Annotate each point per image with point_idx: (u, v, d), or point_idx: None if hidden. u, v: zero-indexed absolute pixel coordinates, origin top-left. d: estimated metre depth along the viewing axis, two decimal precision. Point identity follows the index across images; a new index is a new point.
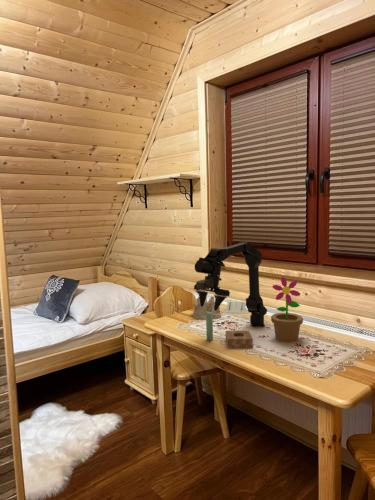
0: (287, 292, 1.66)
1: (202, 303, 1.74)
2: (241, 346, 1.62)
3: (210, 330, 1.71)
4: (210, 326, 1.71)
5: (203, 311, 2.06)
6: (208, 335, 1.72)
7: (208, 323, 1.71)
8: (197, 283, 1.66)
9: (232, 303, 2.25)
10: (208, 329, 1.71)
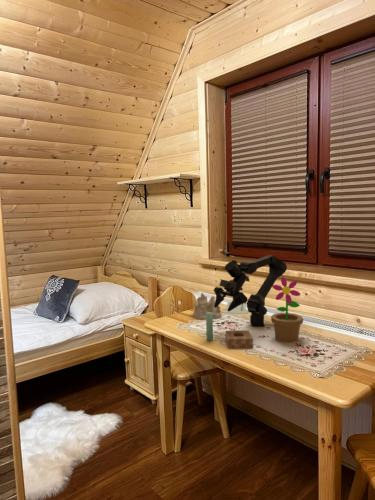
0: (287, 292, 1.66)
1: (216, 304, 1.80)
2: (241, 346, 1.62)
3: (210, 330, 1.71)
4: (210, 326, 1.71)
5: (204, 311, 2.06)
6: (208, 335, 1.72)
7: (208, 323, 1.71)
8: (222, 280, 1.77)
9: None
10: (208, 329, 1.71)
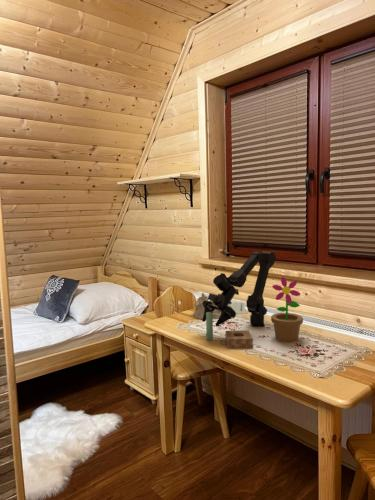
0: (287, 292, 1.66)
1: (204, 318, 1.76)
2: (241, 346, 1.62)
3: (210, 330, 1.71)
4: (210, 326, 1.71)
5: None
6: (208, 335, 1.72)
7: (208, 323, 1.71)
8: (210, 294, 1.73)
9: (231, 303, 2.24)
10: (208, 329, 1.71)
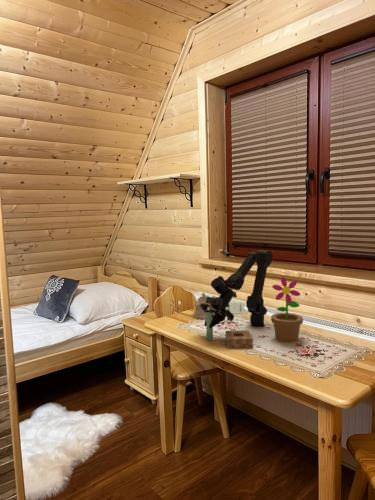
0: (287, 292, 1.66)
1: None
2: (241, 346, 1.62)
3: (210, 330, 1.71)
4: None
5: None
6: (208, 335, 1.72)
7: (208, 323, 1.71)
8: (208, 297, 1.72)
9: (230, 304, 2.24)
10: (208, 329, 1.71)
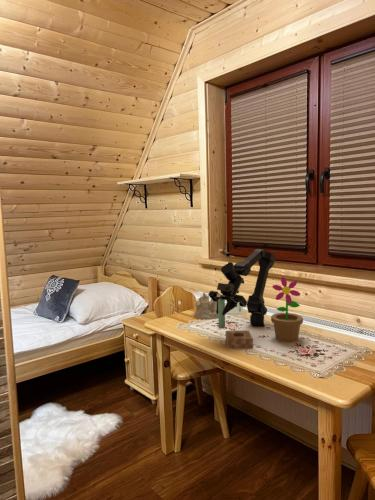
0: (287, 292, 1.66)
1: None
2: (241, 346, 1.62)
3: (223, 317, 1.68)
4: None
5: (206, 311, 2.06)
6: (221, 322, 1.68)
7: (221, 310, 1.67)
8: (219, 284, 1.68)
9: None
10: (220, 316, 1.67)
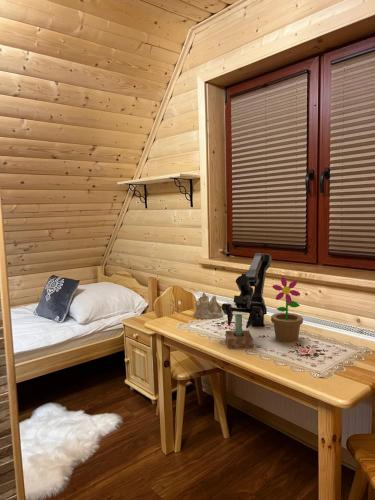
0: (287, 292, 1.66)
1: (230, 322, 1.69)
2: (241, 346, 1.62)
3: (241, 333, 1.66)
4: (241, 329, 1.66)
5: (205, 311, 2.06)
6: None
7: (239, 326, 1.66)
8: (236, 296, 1.66)
9: None
10: (238, 332, 1.66)
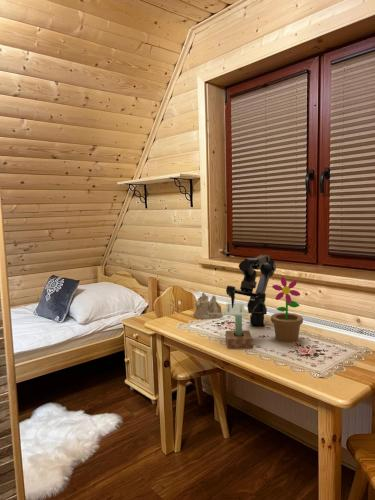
0: (287, 292, 1.66)
1: (233, 305, 1.75)
2: (241, 346, 1.62)
3: (241, 333, 1.66)
4: (241, 329, 1.66)
5: (205, 311, 2.07)
6: None
7: (239, 326, 1.66)
8: (244, 282, 1.71)
9: (231, 305, 2.21)
10: (238, 332, 1.66)
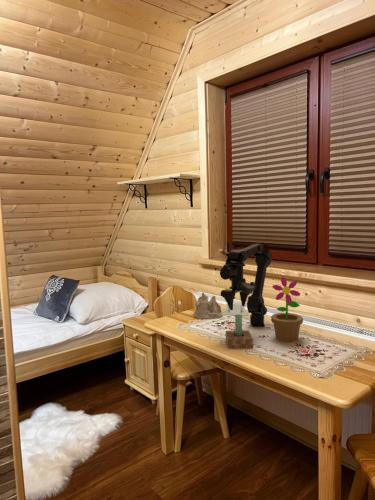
0: (287, 292, 1.66)
1: None
2: (241, 346, 1.62)
3: (241, 333, 1.66)
4: (241, 329, 1.66)
5: (205, 311, 2.07)
6: None
7: (239, 326, 1.66)
8: (250, 289, 1.71)
9: None
10: (238, 332, 1.66)
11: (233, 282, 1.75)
